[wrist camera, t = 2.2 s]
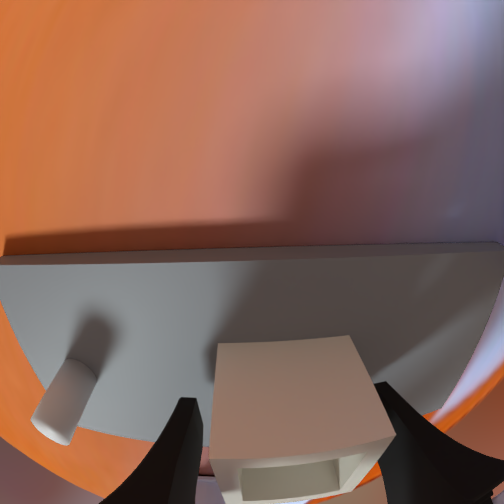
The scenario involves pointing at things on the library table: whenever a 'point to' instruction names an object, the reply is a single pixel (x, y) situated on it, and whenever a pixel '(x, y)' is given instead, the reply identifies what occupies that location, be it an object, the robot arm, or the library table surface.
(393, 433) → the collar
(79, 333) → the base board
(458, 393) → the library table surface
